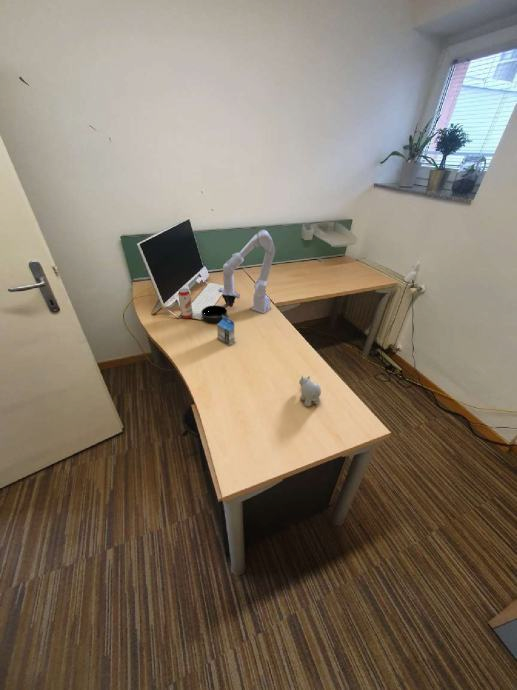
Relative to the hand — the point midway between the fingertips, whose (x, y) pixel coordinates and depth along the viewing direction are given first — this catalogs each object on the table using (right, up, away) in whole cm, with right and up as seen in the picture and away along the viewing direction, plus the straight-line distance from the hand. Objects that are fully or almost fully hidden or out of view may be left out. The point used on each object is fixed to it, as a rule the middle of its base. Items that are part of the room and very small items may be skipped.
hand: (229, 305), depth 163 cm
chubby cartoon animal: (+36, -44, -55) cm, 79 cm away
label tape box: (+1, -21, -26) cm, 34 cm away
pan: (-5, -5, -5) cm, 9 cm away
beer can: (-23, -7, -8) cm, 25 cm away
